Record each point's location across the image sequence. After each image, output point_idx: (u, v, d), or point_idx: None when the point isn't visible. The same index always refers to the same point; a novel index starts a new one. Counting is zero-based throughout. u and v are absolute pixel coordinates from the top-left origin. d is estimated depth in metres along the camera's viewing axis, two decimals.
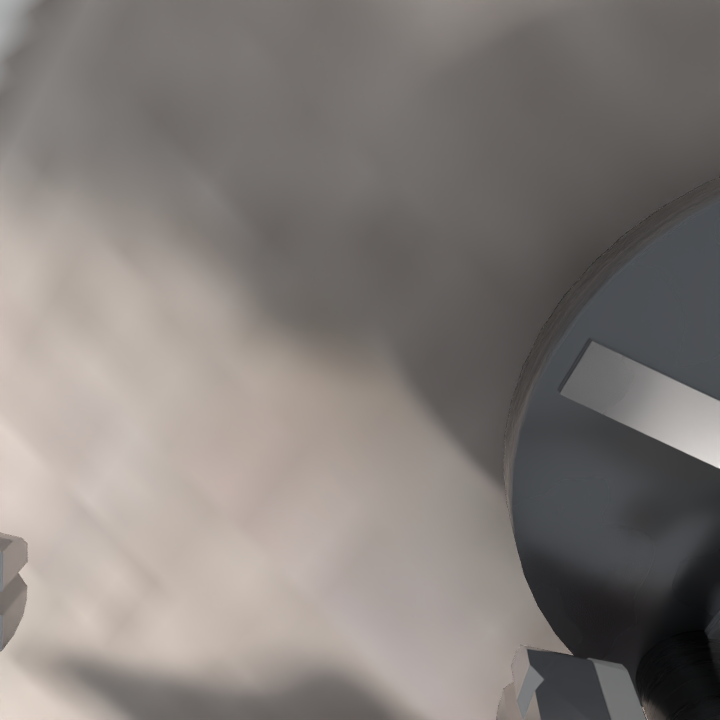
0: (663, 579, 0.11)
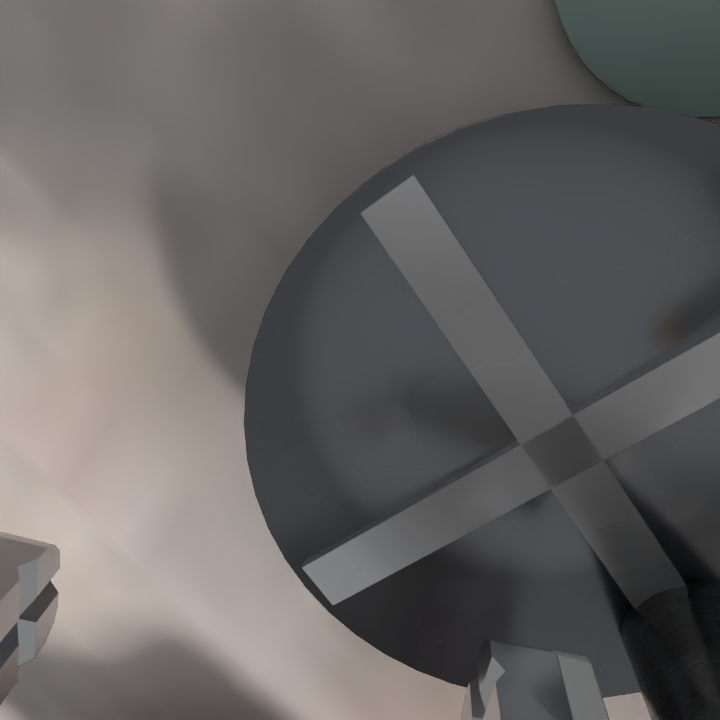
0: (556, 607, 0.12)
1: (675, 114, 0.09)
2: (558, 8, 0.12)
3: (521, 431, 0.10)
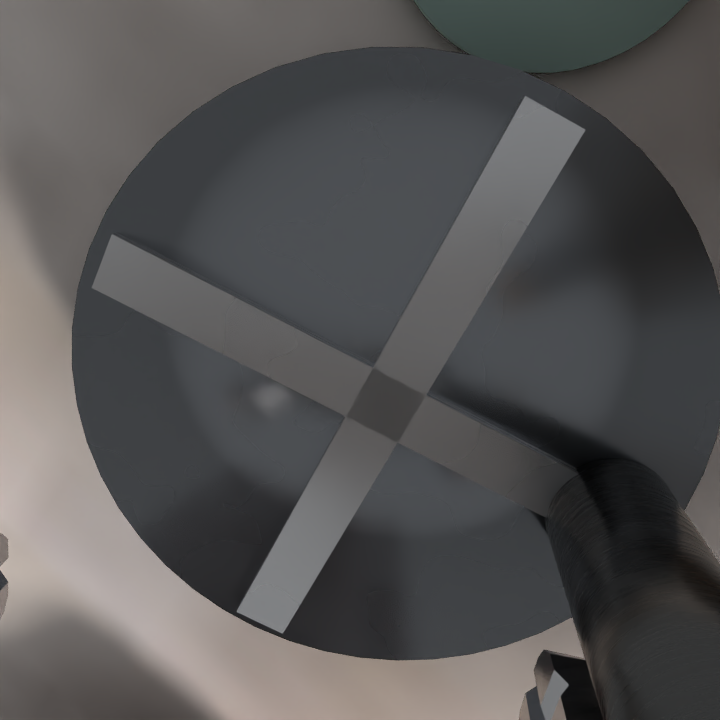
0: (480, 547, 0.11)
1: (292, 64, 0.09)
2: None
3: (339, 403, 0.10)
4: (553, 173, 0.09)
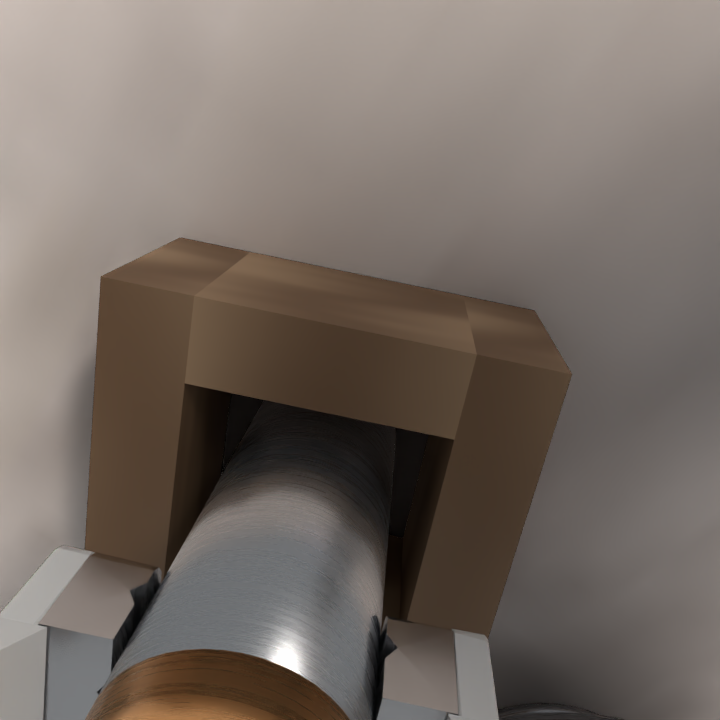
0: None
1: None
2: None
3: None
4: None
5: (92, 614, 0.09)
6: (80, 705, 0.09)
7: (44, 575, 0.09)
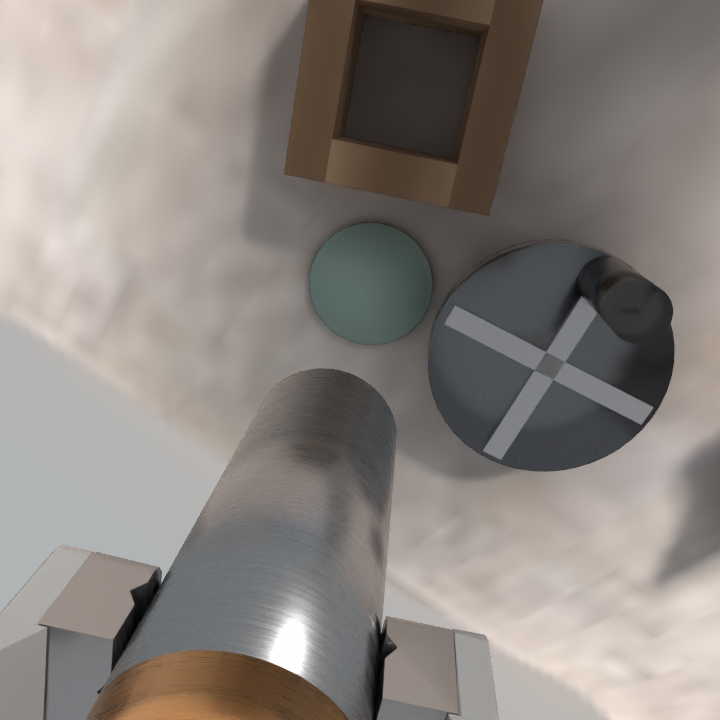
0: None
1: (432, 390, 0.29)
2: None
3: (548, 382, 0.29)
4: (468, 313, 0.28)
5: (92, 614, 0.09)
6: (81, 706, 0.09)
7: (45, 575, 0.09)
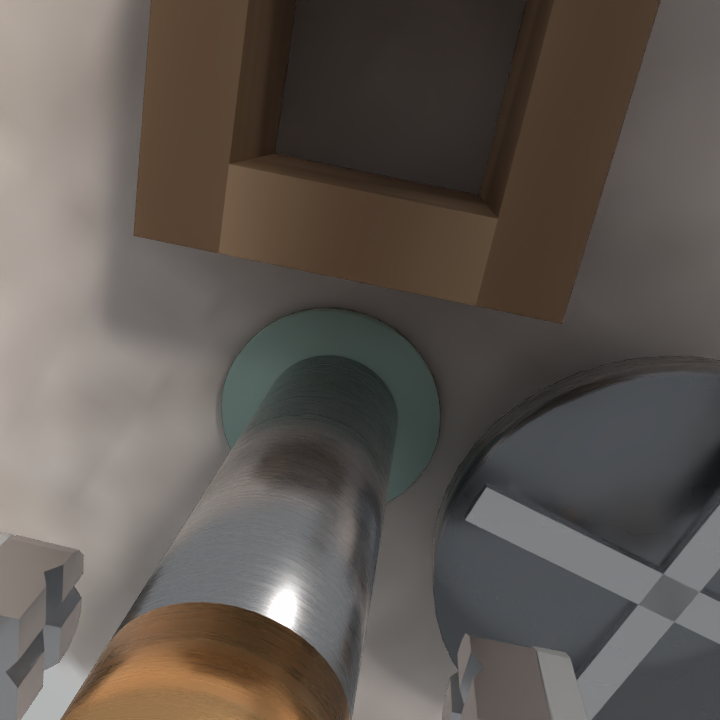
0: None
1: (440, 629, 0.16)
2: None
3: (663, 625, 0.15)
4: (512, 502, 0.14)
5: (1, 594, 0.09)
6: None
7: None
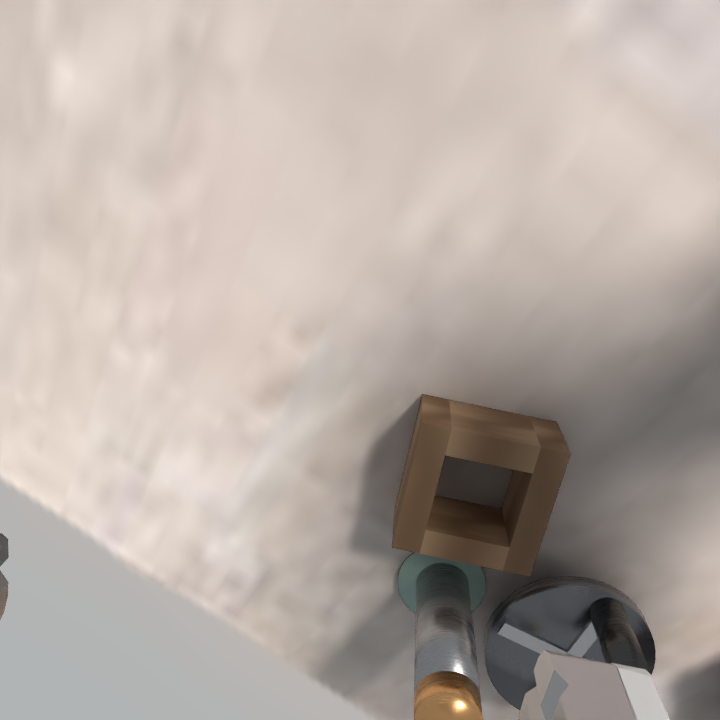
0: None
1: (487, 670, 0.42)
2: None
3: None
4: (514, 628, 0.41)
5: None
6: None
7: None
